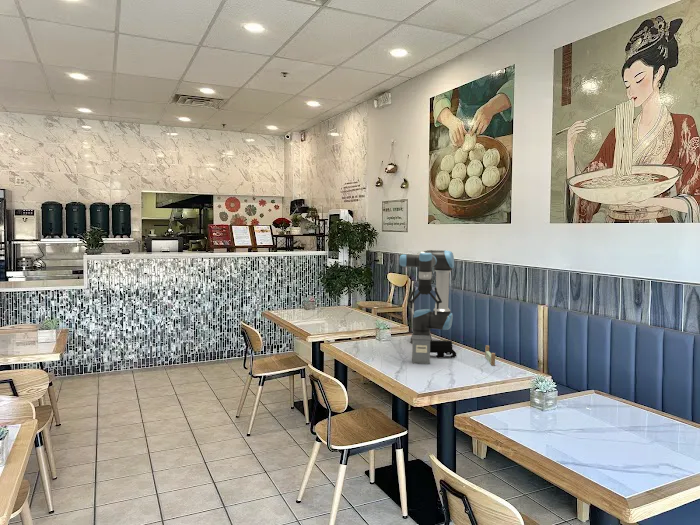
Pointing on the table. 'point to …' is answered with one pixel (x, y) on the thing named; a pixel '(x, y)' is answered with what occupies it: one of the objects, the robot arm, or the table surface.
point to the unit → (421, 349)
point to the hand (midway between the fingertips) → (424, 314)
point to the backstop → (490, 356)
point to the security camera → (442, 348)
